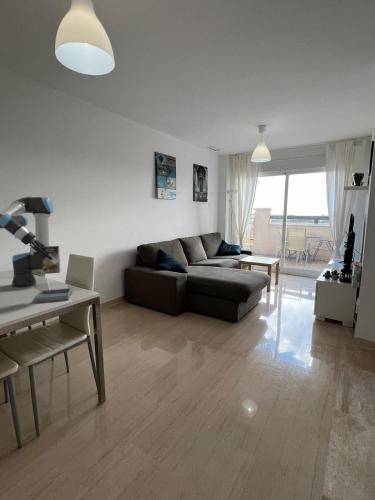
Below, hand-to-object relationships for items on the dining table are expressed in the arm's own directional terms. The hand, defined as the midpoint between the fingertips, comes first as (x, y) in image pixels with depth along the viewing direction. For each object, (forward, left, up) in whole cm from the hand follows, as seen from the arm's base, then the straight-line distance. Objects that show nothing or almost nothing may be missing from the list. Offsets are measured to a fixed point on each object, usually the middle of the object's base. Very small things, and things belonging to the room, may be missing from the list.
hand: (57, 261), depth 157 cm
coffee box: (0, -4, -7) cm, 8 cm away
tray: (-1, -3, -22) cm, 23 cm away
